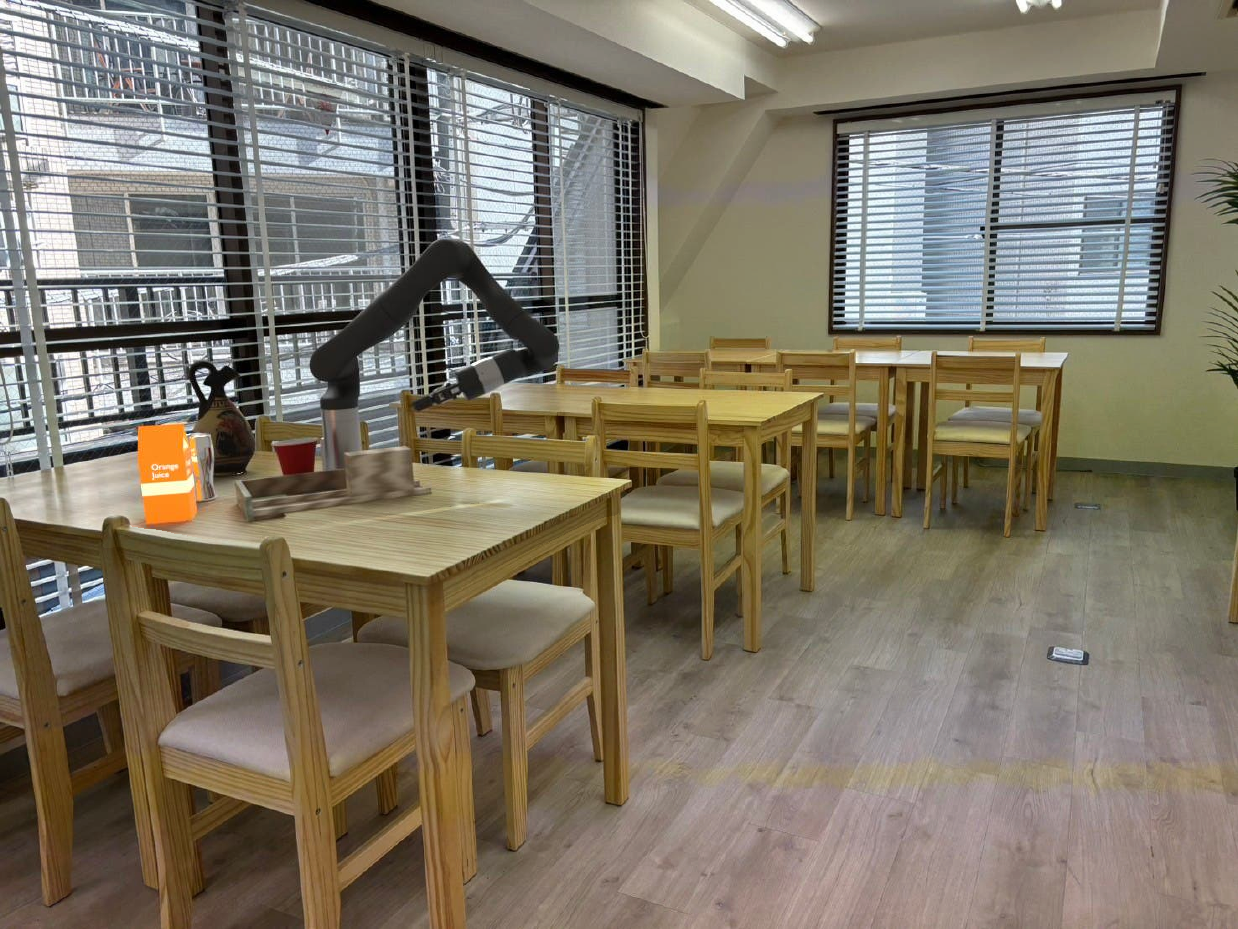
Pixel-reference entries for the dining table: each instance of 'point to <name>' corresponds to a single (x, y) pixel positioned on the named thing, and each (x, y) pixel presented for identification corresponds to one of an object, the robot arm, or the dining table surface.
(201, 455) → the beer glass
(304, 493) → the pads
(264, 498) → the pad
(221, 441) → the ceramic jug
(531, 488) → the dining table surface
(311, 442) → the plastic cup
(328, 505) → the board
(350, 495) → the beech block
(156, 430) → the orange juice
